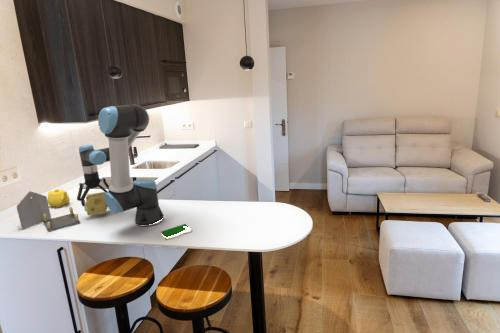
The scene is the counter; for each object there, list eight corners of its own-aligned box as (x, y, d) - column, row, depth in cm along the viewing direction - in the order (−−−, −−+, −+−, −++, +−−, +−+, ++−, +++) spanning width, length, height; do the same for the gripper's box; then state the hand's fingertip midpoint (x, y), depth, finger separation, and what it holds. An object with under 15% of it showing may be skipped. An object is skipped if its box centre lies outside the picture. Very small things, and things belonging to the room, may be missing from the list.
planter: (43, 216, 202) (36, 185, 197) (51, 218, 198) (44, 186, 193) (14, 227, 188) (6, 194, 183) (22, 229, 184) (14, 196, 179)
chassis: (80, 223, 189) (78, 214, 187) (48, 232, 180) (46, 223, 178) (73, 214, 201) (72, 206, 200) (43, 222, 192) (41, 214, 191)
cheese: (87, 215, 193) (84, 199, 190) (90, 209, 203) (87, 193, 200) (107, 212, 195) (104, 196, 193) (108, 206, 206) (105, 190, 203)
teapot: (77, 204, 219) (74, 188, 217) (61, 210, 210) (58, 193, 207) (59, 200, 227) (55, 185, 224) (43, 206, 218) (39, 190, 215)
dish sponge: (161, 236, 169) (160, 231, 169) (186, 227, 177) (185, 223, 177) (166, 241, 164) (166, 236, 163) (192, 232, 172) (192, 227, 171)
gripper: (110, 166, 203) (116, 201, 208) (66, 175, 189) (73, 212, 194) (114, 168, 197) (120, 203, 203) (68, 178, 183) (76, 215, 189)
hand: (97, 208), depth 199 cm, fingers closed on cheese, 12 cm apart
